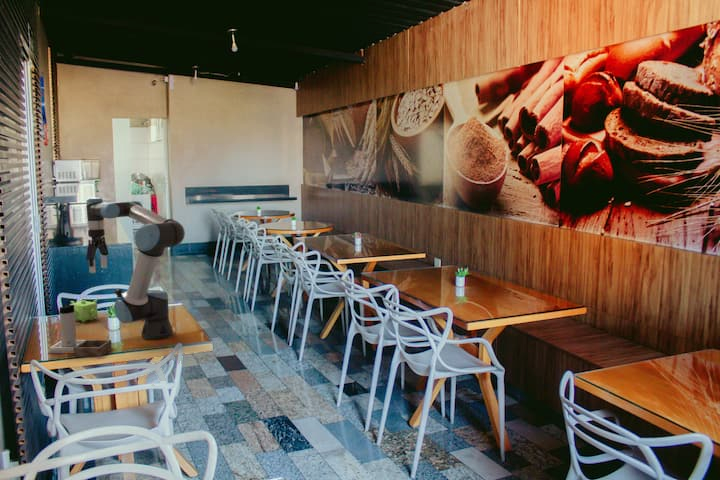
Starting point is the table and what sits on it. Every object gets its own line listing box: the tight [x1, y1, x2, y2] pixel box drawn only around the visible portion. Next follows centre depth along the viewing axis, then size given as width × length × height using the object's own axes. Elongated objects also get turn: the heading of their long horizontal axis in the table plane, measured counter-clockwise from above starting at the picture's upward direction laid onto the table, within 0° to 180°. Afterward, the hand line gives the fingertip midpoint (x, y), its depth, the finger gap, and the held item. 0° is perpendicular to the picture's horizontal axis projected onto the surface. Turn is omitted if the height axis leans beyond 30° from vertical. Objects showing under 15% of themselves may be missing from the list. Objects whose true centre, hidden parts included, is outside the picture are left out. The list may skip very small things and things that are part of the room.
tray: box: [48, 339, 86, 354], centre depth 274 cm, size 12×12×2 cm
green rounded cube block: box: [69, 299, 99, 323], centre depth 323 cm, size 15×14×11 cm
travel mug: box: [59, 304, 77, 347], centre depth 273 cm, size 6×7×20 cm
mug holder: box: [73, 339, 113, 358], centre depth 269 cm, size 12×12×4 cm
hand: (98, 270), depth 296 cm, fingers open, 13 cm apart
